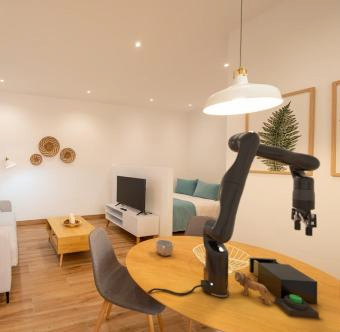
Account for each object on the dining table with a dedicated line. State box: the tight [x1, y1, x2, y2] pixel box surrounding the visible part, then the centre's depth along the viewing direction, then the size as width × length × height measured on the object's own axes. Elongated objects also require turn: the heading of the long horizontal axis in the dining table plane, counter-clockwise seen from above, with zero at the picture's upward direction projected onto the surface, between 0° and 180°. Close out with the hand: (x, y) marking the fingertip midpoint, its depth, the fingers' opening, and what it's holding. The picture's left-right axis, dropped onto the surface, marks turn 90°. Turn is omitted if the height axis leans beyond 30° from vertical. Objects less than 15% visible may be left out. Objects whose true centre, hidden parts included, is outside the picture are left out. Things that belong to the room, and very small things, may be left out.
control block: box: [274, 295, 320, 319], centre depth 86 cm, size 10×8×4 cm
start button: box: [290, 294, 302, 304], centre depth 86 cm, size 4×4×2 cm
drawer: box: [248, 257, 282, 278], centre depth 109 cm, size 19×12×8 cm, turn 172°
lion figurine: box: [234, 270, 276, 305], centre depth 95 cm, size 15×5×9 cm, turn 39°
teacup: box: [155, 238, 175, 257], centre depth 138 cm, size 14×11×8 cm
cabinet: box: [257, 263, 318, 305], centre depth 98 cm, size 16×14×10 cm
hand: (302, 232), depth 100 cm, fingers open, 8 cm apart
